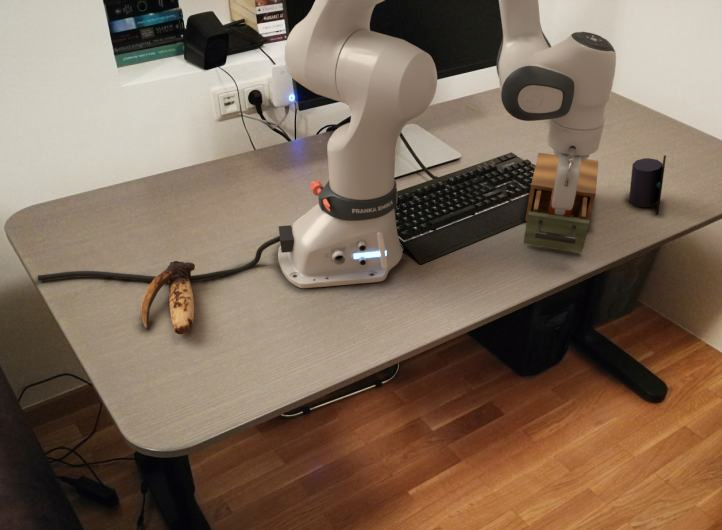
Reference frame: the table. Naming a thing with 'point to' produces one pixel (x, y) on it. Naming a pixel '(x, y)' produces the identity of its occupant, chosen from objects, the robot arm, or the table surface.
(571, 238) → the drawer
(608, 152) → the table surface
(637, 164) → the speaker
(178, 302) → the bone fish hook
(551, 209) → the block
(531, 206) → the cabinet
